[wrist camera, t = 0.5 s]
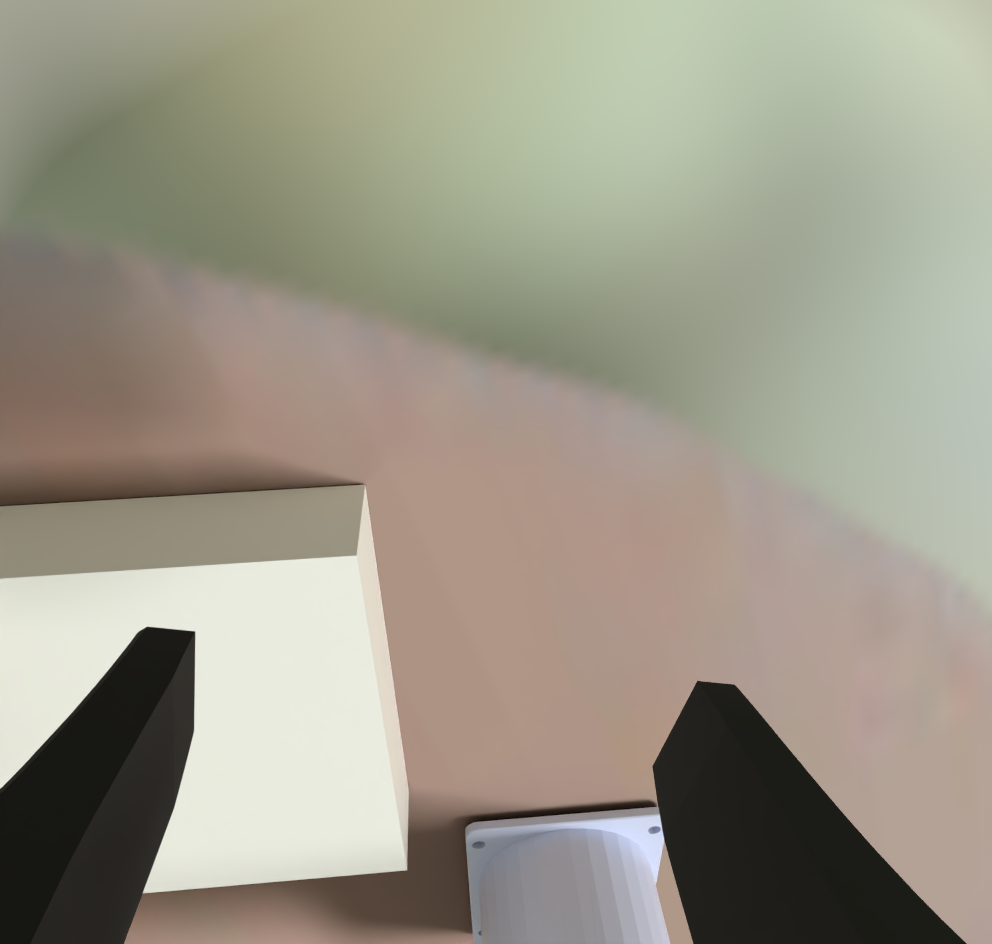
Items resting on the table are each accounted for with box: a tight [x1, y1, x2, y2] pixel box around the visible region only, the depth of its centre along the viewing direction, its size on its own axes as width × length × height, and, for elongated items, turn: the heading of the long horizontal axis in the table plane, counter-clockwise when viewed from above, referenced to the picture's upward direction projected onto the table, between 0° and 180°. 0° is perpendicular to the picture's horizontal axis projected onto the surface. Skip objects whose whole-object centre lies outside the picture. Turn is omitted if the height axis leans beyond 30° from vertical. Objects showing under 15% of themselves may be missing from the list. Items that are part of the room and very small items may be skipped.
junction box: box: [0, 485, 409, 893], centre depth 21 cm, size 14×18×6 cm
